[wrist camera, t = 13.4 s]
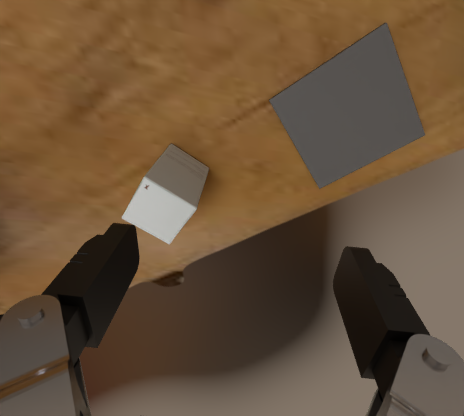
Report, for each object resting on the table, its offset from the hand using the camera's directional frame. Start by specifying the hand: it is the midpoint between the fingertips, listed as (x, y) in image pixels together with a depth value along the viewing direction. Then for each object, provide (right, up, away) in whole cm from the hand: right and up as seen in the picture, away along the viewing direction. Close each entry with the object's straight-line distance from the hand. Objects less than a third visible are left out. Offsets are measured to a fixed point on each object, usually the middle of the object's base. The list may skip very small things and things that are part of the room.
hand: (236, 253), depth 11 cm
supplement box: (-9, +8, +35) cm, 37 cm away
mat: (+16, +15, +29) cm, 36 cm away
